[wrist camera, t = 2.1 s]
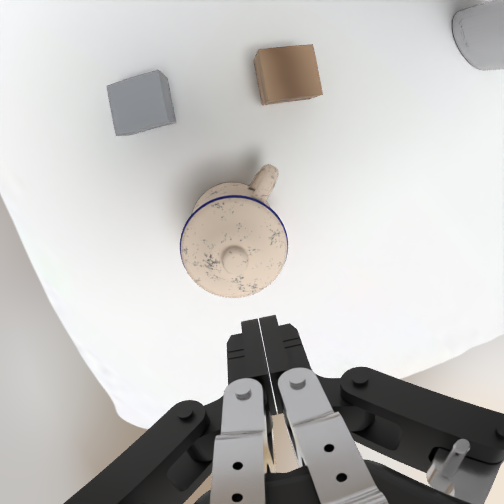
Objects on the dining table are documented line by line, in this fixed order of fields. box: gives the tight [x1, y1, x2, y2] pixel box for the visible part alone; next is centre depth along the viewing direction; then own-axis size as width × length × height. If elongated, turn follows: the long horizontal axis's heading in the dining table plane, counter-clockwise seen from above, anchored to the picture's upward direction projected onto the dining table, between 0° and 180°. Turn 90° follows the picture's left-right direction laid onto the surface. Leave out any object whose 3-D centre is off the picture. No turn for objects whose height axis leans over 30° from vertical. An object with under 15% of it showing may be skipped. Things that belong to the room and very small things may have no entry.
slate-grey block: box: [107, 70, 176, 136], centre depth 27 cm, size 5×5×5 cm
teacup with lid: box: [180, 164, 288, 298], centre depth 29 cm, size 12×9×12 cm
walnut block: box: [254, 44, 323, 105], centre depth 27 cm, size 5×5×5 cm
